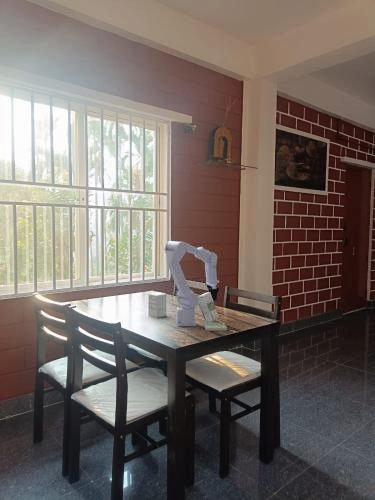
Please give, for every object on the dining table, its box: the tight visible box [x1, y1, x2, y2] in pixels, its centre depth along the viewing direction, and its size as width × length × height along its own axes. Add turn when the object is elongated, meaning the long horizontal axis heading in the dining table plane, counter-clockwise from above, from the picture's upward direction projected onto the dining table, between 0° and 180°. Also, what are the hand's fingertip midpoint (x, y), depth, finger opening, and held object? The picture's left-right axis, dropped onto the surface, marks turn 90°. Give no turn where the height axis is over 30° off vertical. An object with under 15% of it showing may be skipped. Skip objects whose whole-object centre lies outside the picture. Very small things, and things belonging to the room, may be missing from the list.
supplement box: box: [147, 291, 167, 319], centre depth 203 cm, size 7×7×13 cm
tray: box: [203, 322, 228, 332], centre depth 182 cm, size 10×9×1 cm
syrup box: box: [197, 291, 220, 323], centre depth 190 cm, size 6×6×14 cm
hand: (213, 298), depth 200 cm, fingers open, 7 cm apart
